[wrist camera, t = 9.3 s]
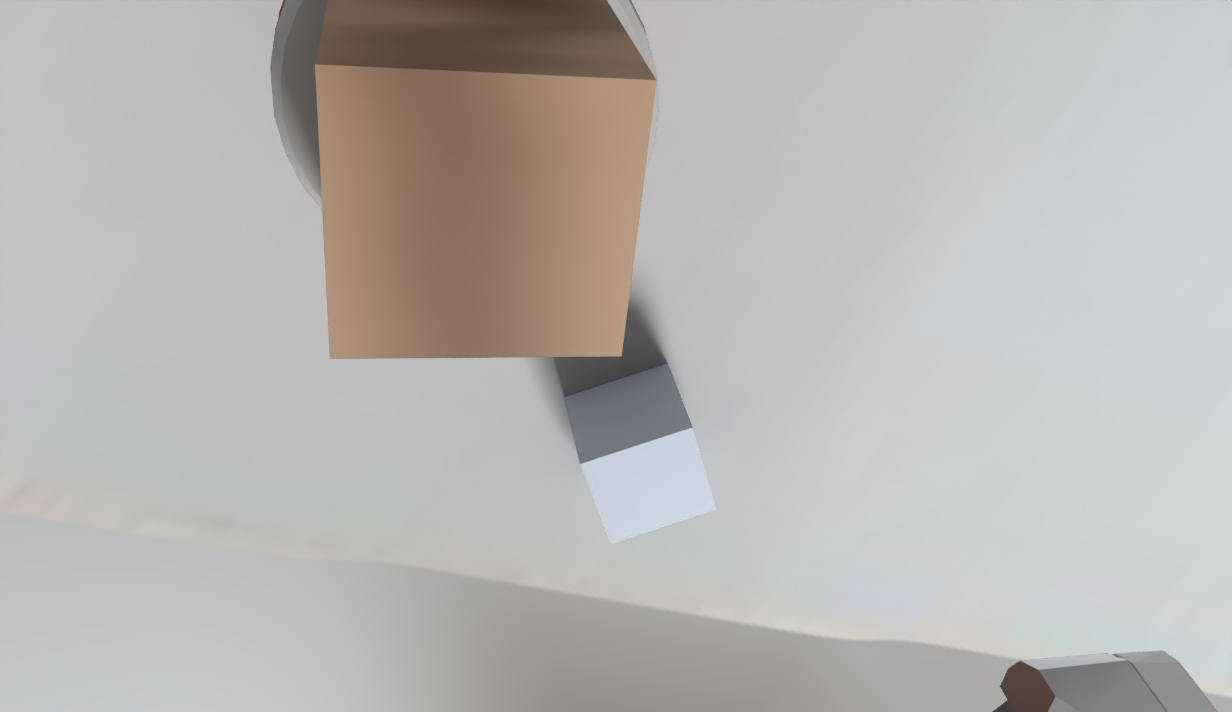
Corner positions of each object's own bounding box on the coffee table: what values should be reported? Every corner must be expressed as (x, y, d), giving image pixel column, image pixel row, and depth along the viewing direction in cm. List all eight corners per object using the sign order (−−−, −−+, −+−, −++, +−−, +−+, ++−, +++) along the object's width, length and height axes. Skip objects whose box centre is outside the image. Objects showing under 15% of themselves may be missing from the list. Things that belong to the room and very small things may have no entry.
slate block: (667, 361, 39) (692, 427, 35) (690, 441, 41) (716, 509, 38) (564, 395, 39) (580, 464, 35) (593, 473, 41) (610, 544, 38)
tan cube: (602, -7, 20) (656, 80, 16) (580, 230, 23) (621, 356, 19) (331, -24, 19) (314, 63, 15) (342, 226, 22) (329, 358, 18)
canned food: (414, -248, 27) (423, -200, 18) (640, -40, 31) (742, 87, 22) (249, -9, 29) (184, 140, 20) (478, 156, 33) (509, 344, 24)
